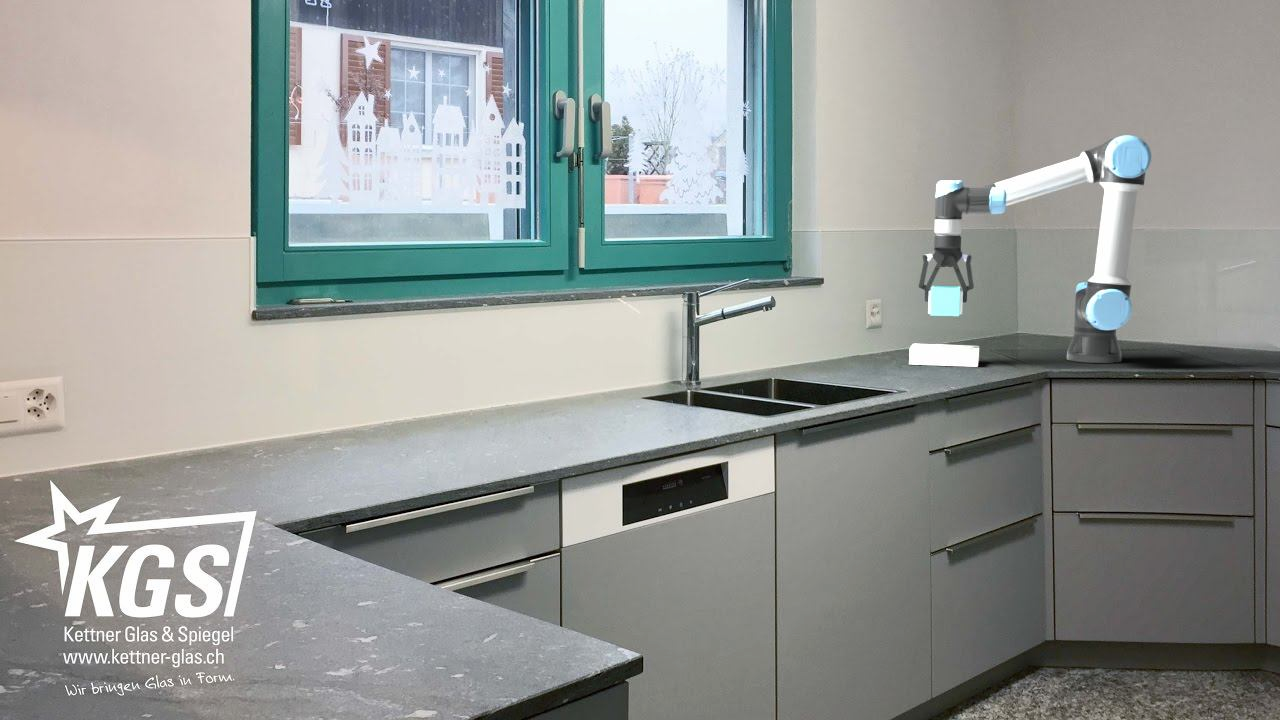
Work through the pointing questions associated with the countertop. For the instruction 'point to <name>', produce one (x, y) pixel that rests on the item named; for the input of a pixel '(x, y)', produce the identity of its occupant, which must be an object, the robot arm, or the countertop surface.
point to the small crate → (945, 300)
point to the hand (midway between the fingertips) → (945, 313)
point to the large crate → (944, 355)
